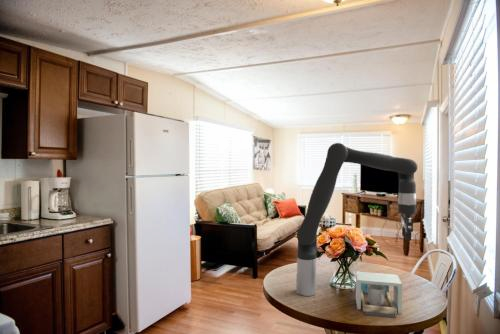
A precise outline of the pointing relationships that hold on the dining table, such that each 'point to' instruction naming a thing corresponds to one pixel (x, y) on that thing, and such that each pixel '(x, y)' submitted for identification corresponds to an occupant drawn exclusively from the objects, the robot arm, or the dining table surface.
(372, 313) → the pit mat
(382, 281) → the tunnel
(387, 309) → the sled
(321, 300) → the dining table surface
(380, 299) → the cup
